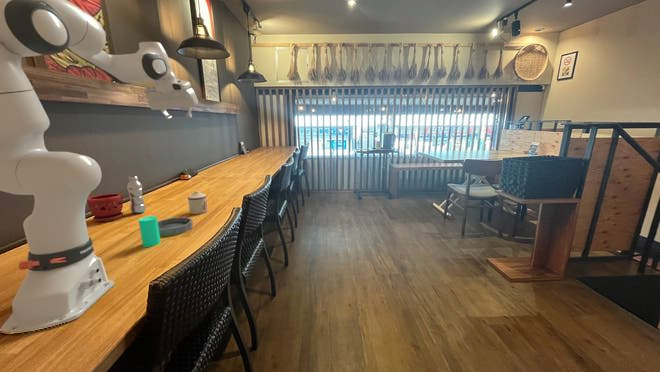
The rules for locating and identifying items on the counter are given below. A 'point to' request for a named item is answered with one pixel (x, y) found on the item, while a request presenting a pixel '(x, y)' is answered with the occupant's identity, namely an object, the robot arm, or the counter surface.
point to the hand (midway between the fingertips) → (179, 118)
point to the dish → (174, 226)
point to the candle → (149, 231)
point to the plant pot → (106, 207)
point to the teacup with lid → (197, 203)
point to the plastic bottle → (135, 195)
